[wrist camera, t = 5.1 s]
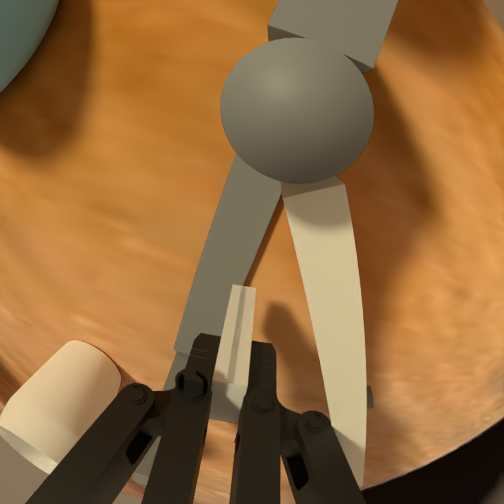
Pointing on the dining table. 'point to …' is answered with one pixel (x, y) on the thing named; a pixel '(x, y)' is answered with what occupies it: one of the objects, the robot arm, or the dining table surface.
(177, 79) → the dining table surface
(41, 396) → the cup
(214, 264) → the grey u-shaped bar
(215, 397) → the robot arm
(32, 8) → the sugar bowl
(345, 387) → the curved cream plank
